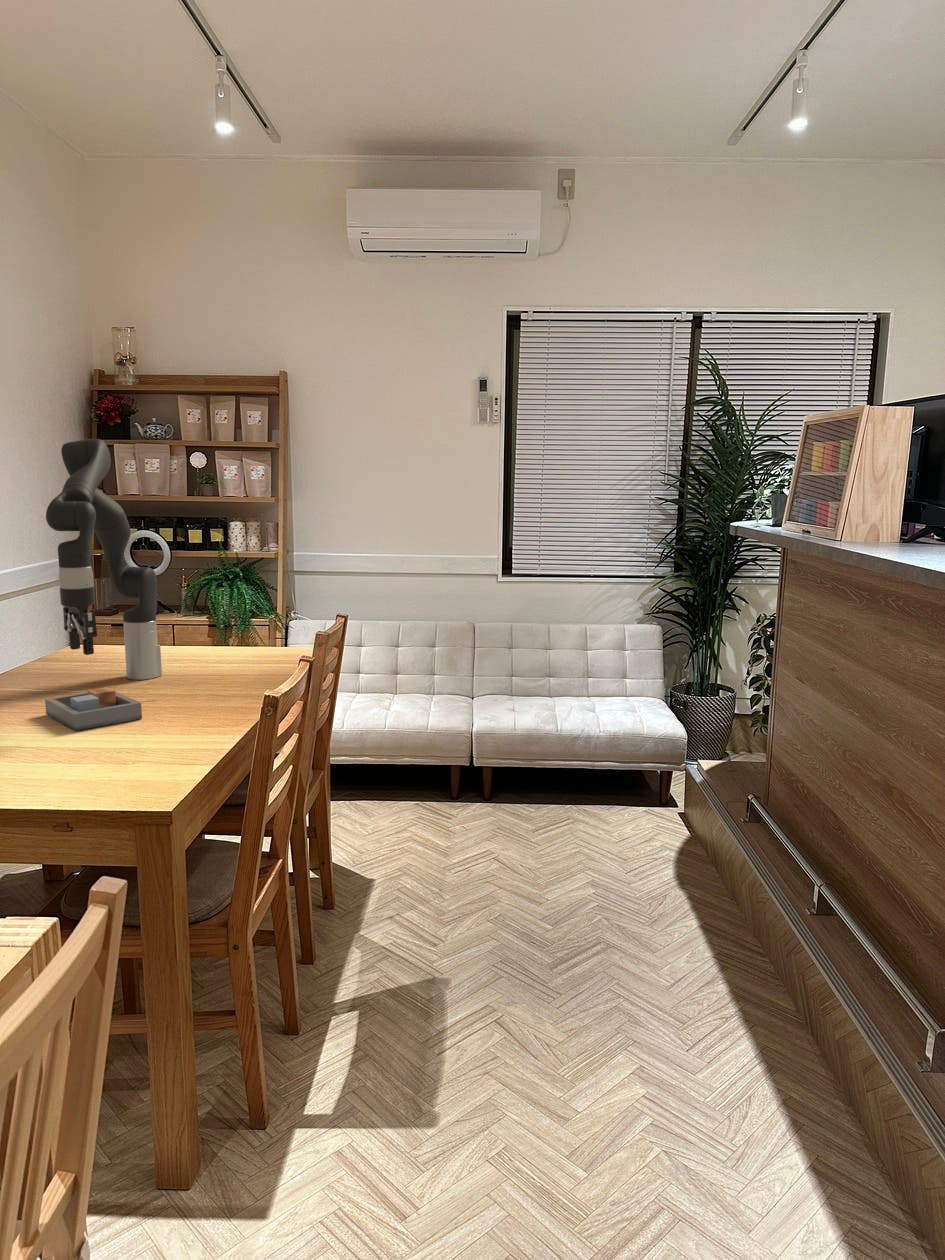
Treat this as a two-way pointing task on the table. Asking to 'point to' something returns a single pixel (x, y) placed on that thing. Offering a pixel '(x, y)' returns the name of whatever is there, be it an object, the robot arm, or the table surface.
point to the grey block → (85, 703)
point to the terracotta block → (104, 696)
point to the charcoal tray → (92, 712)
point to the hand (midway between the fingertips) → (81, 651)
